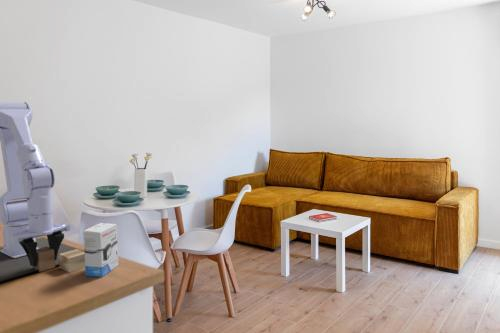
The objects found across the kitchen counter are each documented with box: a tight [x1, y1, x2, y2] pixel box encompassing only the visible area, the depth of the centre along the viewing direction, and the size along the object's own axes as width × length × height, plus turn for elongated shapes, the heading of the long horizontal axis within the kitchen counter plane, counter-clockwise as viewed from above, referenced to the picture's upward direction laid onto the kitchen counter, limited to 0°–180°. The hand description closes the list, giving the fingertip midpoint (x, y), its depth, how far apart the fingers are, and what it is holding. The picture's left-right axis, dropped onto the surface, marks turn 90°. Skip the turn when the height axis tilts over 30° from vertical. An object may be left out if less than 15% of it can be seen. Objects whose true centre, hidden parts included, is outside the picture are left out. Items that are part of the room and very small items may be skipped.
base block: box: [58, 248, 85, 273], centre depth 107 cm, size 5×5×4 cm
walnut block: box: [32, 246, 56, 273], centre depth 107 cm, size 4×4×5 cm
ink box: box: [83, 222, 119, 278], centre depth 105 cm, size 8×5×12 cm, turn 168°
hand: (43, 262), depth 107 cm, fingers open, 5 cm apart
